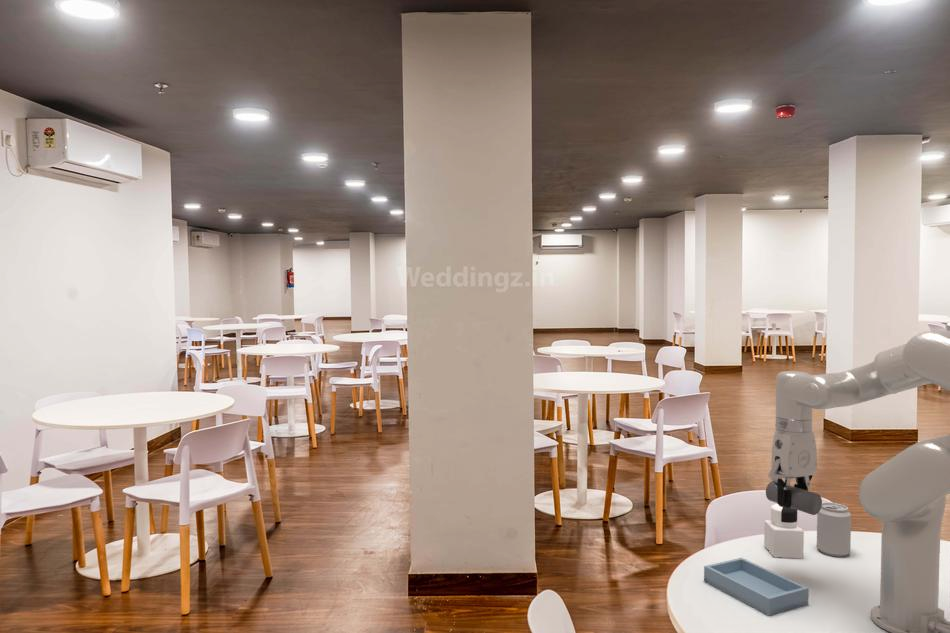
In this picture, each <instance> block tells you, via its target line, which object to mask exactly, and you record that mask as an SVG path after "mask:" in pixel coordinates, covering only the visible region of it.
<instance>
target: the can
mask: <svg viewBox="0 0 950 633" xmlns="http://www.w3.org/2000/svg"><path fill="white" fill-rule="evenodd" d="M851 535H852V513H851V512H850V511H849V507H848V506H847V505H844V504H841V503H837V502H831V501H830V502H828V501H827V502H822V507H821V509H820V511H819V512H818V513H817V514H816V547H817V549H818V550H819V551H820V552H821V553H823V554H825V555H827V556H830V557H835V558H836V557H837V558H838V557H840V558H843V557H847V555H849V554H850V553H851V542H852V541H851V539H852V538H851V537H852V536H851Z"/></svg>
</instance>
